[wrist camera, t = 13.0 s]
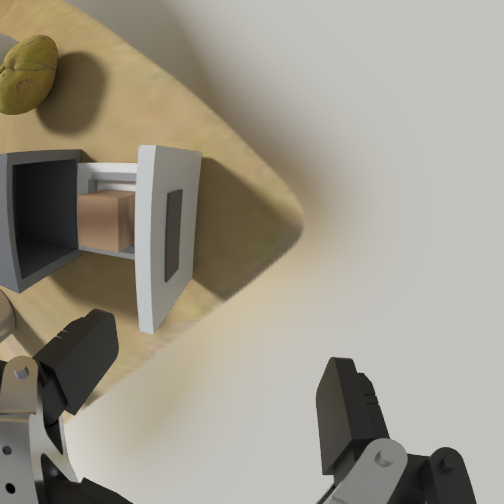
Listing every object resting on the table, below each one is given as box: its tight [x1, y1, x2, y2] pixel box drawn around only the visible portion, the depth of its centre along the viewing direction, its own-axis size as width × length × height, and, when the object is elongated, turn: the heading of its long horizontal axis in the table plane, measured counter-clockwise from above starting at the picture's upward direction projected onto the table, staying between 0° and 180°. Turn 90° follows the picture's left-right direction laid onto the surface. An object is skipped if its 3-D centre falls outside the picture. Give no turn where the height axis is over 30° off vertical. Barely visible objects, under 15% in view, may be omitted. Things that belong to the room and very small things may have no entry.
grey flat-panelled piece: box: [77, 145, 202, 335], centre depth 23 cm, size 14×15×11 cm
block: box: [77, 189, 136, 252], centre depth 25 cm, size 5×5×5 cm
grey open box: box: [0, 149, 82, 294], centre depth 24 cm, size 14×15×12 cm
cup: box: [0, 33, 20, 66], centre depth 18 cm, size 8×8×10 cm
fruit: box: [0, 35, 58, 115], centre depth 19 cm, size 11×12×10 cm
